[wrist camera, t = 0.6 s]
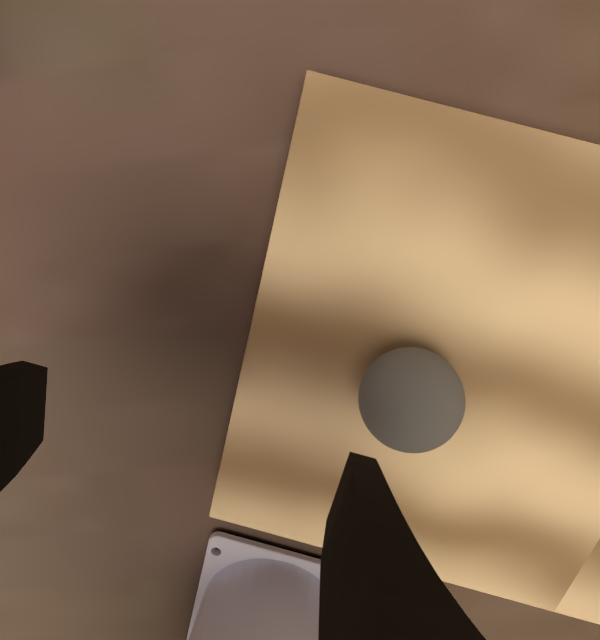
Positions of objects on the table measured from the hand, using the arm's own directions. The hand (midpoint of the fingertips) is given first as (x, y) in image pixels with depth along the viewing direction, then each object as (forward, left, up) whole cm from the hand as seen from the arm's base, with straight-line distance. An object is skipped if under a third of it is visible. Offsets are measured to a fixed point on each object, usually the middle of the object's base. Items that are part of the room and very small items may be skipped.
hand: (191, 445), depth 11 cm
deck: (0, -13, -10) cm, 16 cm away
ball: (0, -6, -6) cm, 8 cm away
